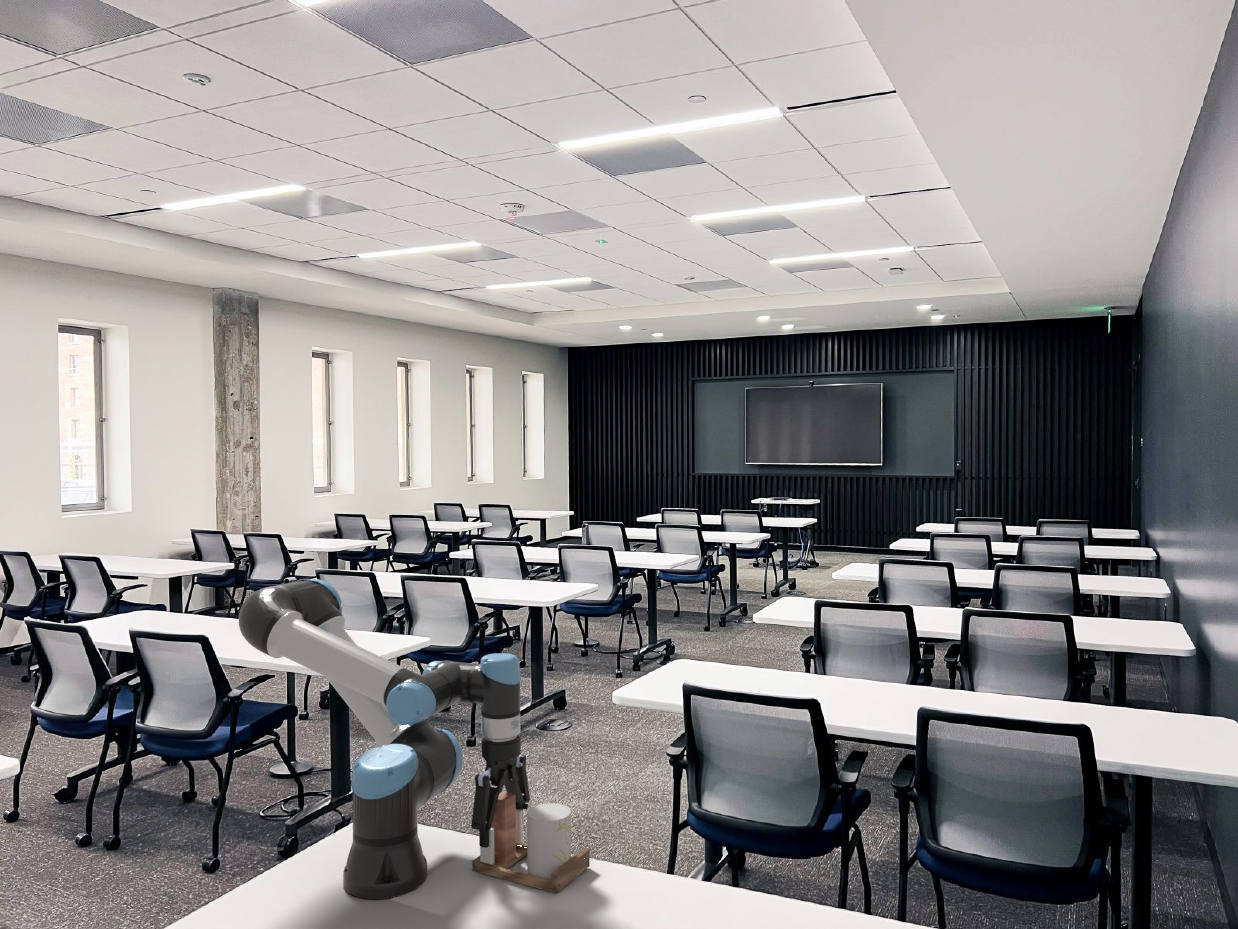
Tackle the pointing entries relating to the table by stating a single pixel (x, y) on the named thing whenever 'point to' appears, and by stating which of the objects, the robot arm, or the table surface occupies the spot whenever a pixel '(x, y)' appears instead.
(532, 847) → the cup
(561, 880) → the sled
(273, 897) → the table surface
